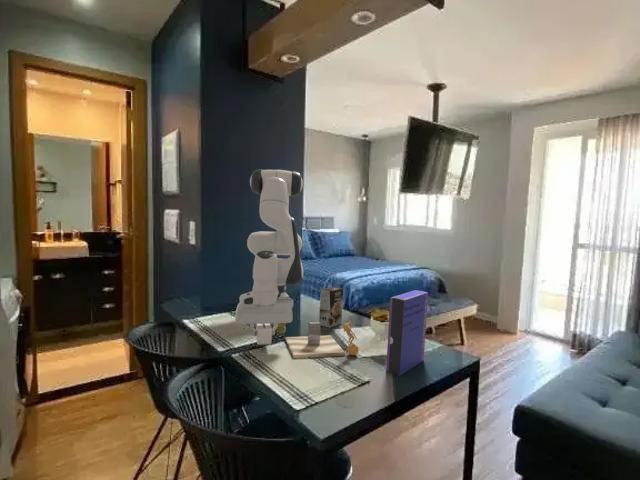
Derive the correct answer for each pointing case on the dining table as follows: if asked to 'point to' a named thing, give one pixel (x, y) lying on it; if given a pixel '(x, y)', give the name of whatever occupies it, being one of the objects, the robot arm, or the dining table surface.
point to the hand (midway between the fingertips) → (263, 335)
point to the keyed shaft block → (314, 344)
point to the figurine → (352, 347)
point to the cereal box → (406, 331)
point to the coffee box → (331, 306)
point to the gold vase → (279, 328)
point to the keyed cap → (264, 333)
